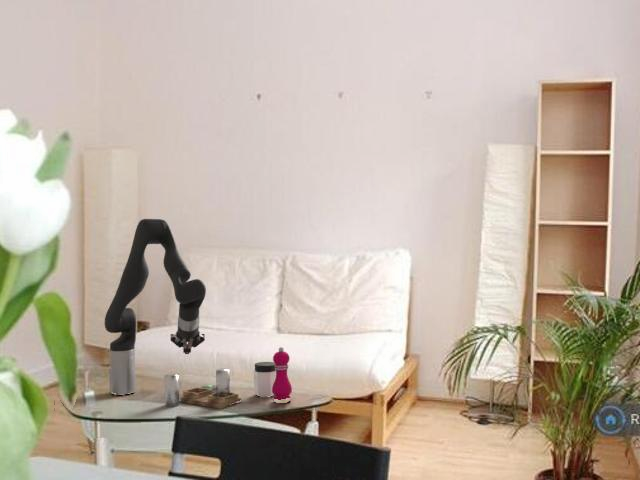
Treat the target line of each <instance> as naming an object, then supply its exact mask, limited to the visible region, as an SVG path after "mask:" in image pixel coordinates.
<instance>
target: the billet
mask: <svg viewBox="0 0 640 480" xmlns="http://www.w3.org/2000/svg"><path fill="white" fill-rule="evenodd" d="M179 376H180V375H179V373H167V374H164V407H167V408H174V407H175V408H176V407H178V406H180V385H179V383H180V381H179V380H180V379H179Z"/></svg>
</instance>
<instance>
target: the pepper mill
mask: <svg viewBox="0 0 640 480" xmlns="http://www.w3.org/2000/svg"><path fill="white" fill-rule="evenodd" d="M272 357H273V358H272V362H274V363H275V364H276V365H275V369H276V379H275V381H274V384H273V387H272V392H273V394H274V395H275V396H273V400H274V399H278V400H281V399H286V398H290V397H291V394H292V392H293V389H292V388H293V387H292V384H291V382H290V380H289V377H288V369H289V364H288V363H290V355H289V353H288V352H286V351H284V347H283V346H280V347H279V348H278V351H277V352H275V353H274V355H273V356H272Z"/></svg>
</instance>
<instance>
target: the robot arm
mask: <svg viewBox="0 0 640 480" xmlns="http://www.w3.org/2000/svg"><path fill="white" fill-rule="evenodd" d="M148 245H161V247H162V248H163V249H164V257H163V267H164V269H165V272H166V274H167V275H168V277H169V278H170V280H171V283H172V286H173V290H174V291H173V292H174V297H175V300H176V301H177V302H178V303H179V305H178V306H179V307H178V316H177V331H176V332H175V334H174V333H172V334H171V333H170V342H172V343H173V344H174V345H175V346H177V348H179V349H180V348H182V351H183V354H185V355H190V353H191V352H192V348H197V347H198V346H199V345H200V344H202V343H203V342H205V340H206V336H205V333H202V334H201V332H200V331H199V330H200V329H199V328H200V308H201V306H202V304H203V302H204V300H205V297H206V292H207V289H206V284H205V283H204V281H202V280H201V279H198V278H197V279H192V280H189V279H191V276H192V275H191V274H192V273H191V271H190V269H189V267H188V265H187V264H186V263H185V261H184V259H183V258H182V256H181V254H180V251H179V249H178V245H177V244H176V241H175V237H174V235H173V233H172V230H171V228H170V225H169V224H168V222H167V221H166V220H164V219H160V218H143V219H140V221H138V223H137V225H136V229H135V231H134V237H133V241H132V245H131V247H130V252H129V255H128V257H127V260H126V264H125V266H124V269H123V271H122V275H121V277H120V281H119V284H118V287H117V289H116V292H115V293H114V297H113V299H112V301H111V303H110V305H109V307H108V309H107V311H106V312H105V317H104V328H105V330H106V332H108V333H111V334H117V333H118V334H119V333H121V334H120V335H119V336H118V337H117V338H116V339H114V340H113V341H111V342H110V344H109V357H110V359H109V360H110V368H109V370H108V371H109V372H108V373H109V375H108V376H109V377H108V378H109V382H108V383H109V391H110V390H111V392H113V393H116V394H128V393H131V392H133V391H135V389H136V356H135V355H136V353H135V350H136V349H135V348H136V347H135V345H136V340H137V337H136V336H137V317H136V313H135V310H134V309H133V308H131V307H128V305H129V304H130V303H131V302H133V300H134V299H135V298H136V297H137V296H138V295H139V294H141V293H142V291H143V290H144V288H145V286H146V284H147V281H148V278H149V275H150V271H149V266H148V263H147V261H146V258H145V251H146V249H147V246H148Z"/></svg>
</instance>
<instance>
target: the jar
mask: <svg viewBox="0 0 640 480" xmlns="http://www.w3.org/2000/svg"><path fill="white" fill-rule="evenodd" d="M275 365H276V364H275V363H274V361H260V362H255V363H254V370H253V390H254V391H253V394H255V396H256V395H257V396H271V395H274V394H273V392H272V387H273V384H274V381H275V379H276V369H275ZM257 396H256V397H257Z"/></svg>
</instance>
